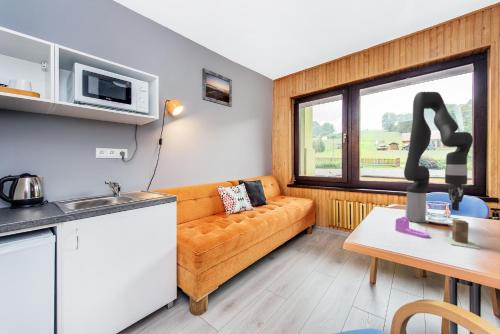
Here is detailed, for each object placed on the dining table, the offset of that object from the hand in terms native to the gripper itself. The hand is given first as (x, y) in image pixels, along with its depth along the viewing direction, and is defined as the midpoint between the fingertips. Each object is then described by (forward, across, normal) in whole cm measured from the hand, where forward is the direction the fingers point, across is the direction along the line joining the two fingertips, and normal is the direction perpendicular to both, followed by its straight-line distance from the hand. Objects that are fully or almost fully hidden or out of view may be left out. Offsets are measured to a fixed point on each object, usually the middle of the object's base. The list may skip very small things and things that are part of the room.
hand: (455, 210), depth 99 cm
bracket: (+13, -4, +17) cm, 22 cm away
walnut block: (+12, -8, 0) cm, 15 cm away
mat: (+13, -9, 0) cm, 16 cm away
